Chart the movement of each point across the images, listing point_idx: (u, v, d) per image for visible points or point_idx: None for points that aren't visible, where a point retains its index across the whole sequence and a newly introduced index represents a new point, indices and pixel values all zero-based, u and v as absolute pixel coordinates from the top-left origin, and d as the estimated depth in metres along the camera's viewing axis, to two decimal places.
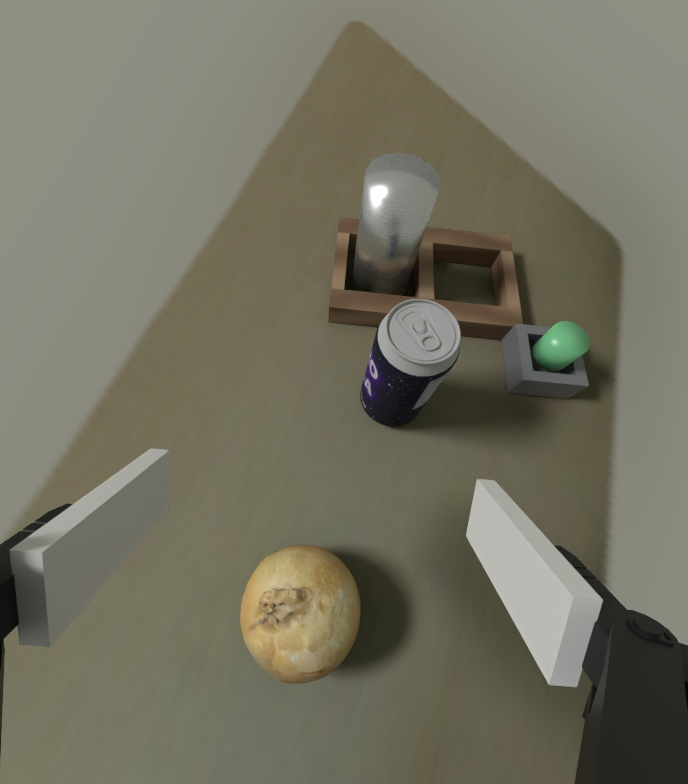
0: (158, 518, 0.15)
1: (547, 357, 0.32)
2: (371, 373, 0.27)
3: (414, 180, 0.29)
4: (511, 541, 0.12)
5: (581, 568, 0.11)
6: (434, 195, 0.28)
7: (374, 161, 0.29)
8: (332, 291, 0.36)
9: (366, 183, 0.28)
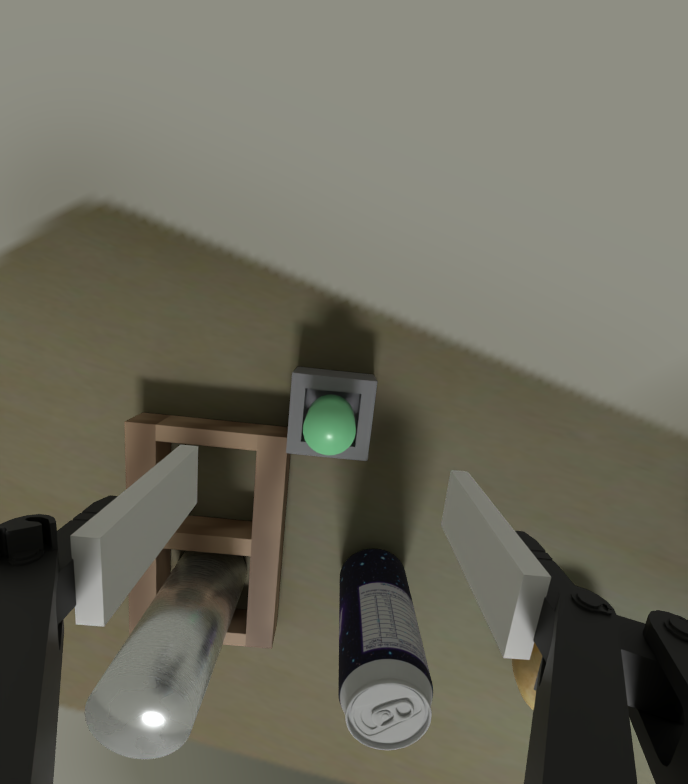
0: (188, 511, 0.15)
1: None
2: None
3: (139, 705, 0.20)
4: (476, 527, 0.13)
5: (540, 551, 0.12)
6: (166, 684, 0.20)
7: (111, 747, 0.21)
8: (249, 645, 0.31)
9: None
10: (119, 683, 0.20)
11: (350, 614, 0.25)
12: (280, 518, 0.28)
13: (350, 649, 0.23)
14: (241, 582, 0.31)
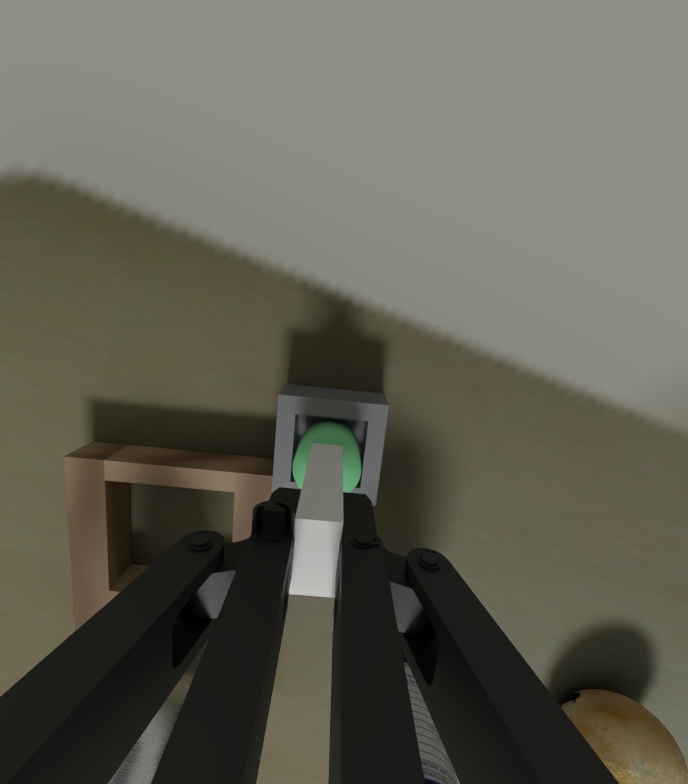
0: None
1: None
2: None
3: None
4: None
5: (368, 508, 0.13)
6: None
7: None
8: None
9: None
10: None
11: None
12: None
13: None
14: None
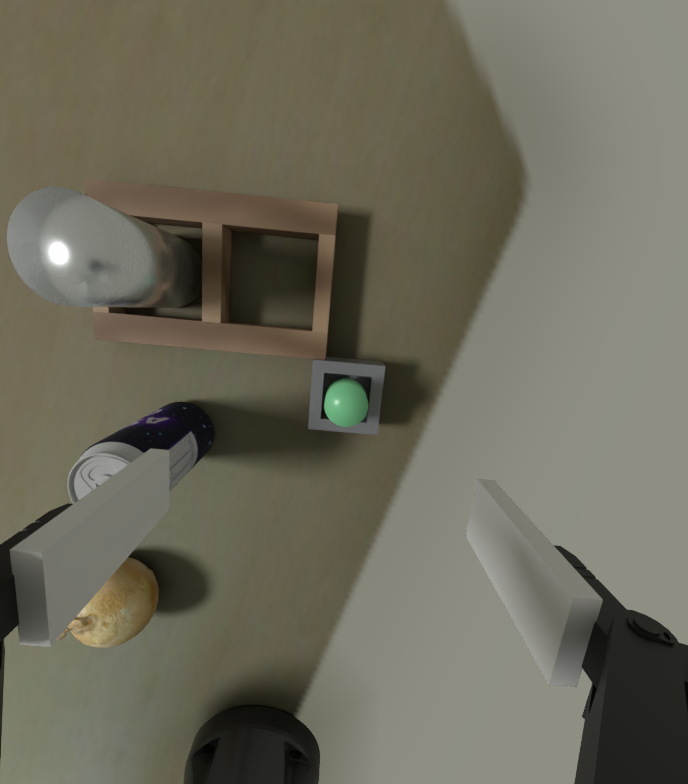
0: (158, 518, 0.15)
1: None
2: None
3: (82, 252, 0.19)
4: (511, 541, 0.12)
5: (581, 568, 0.11)
6: (113, 282, 0.20)
7: (17, 212, 0.19)
8: (95, 316, 0.29)
9: (14, 262, 0.20)
10: (108, 232, 0.19)
11: (172, 431, 0.27)
12: (245, 351, 0.30)
13: (153, 443, 0.24)
14: (166, 307, 0.30)
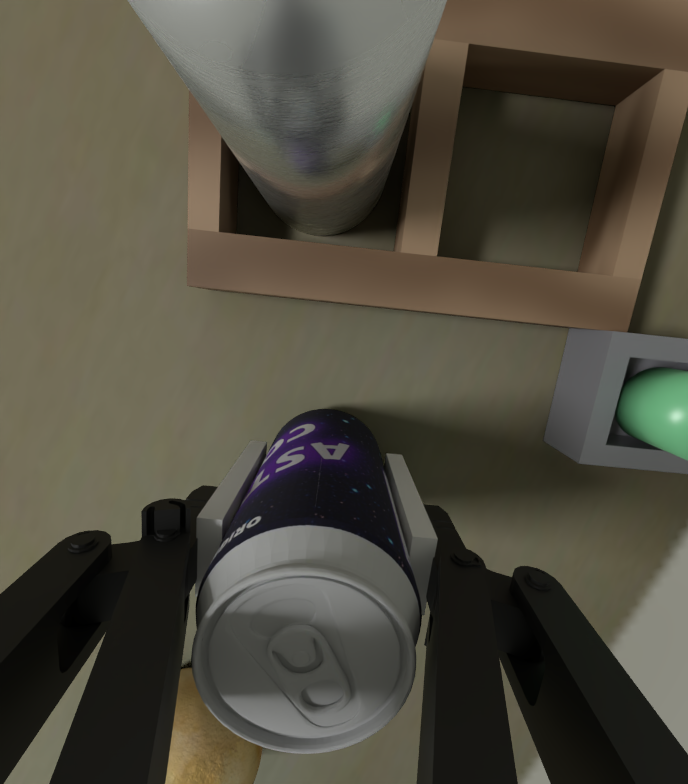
0: None
1: (643, 435, 0.15)
2: None
3: None
4: (395, 501, 0.14)
5: (447, 522, 0.13)
6: None
7: None
8: (191, 238, 0.15)
9: None
10: None
11: (374, 476, 0.12)
12: (477, 314, 0.16)
13: (380, 516, 0.10)
14: (324, 227, 0.16)
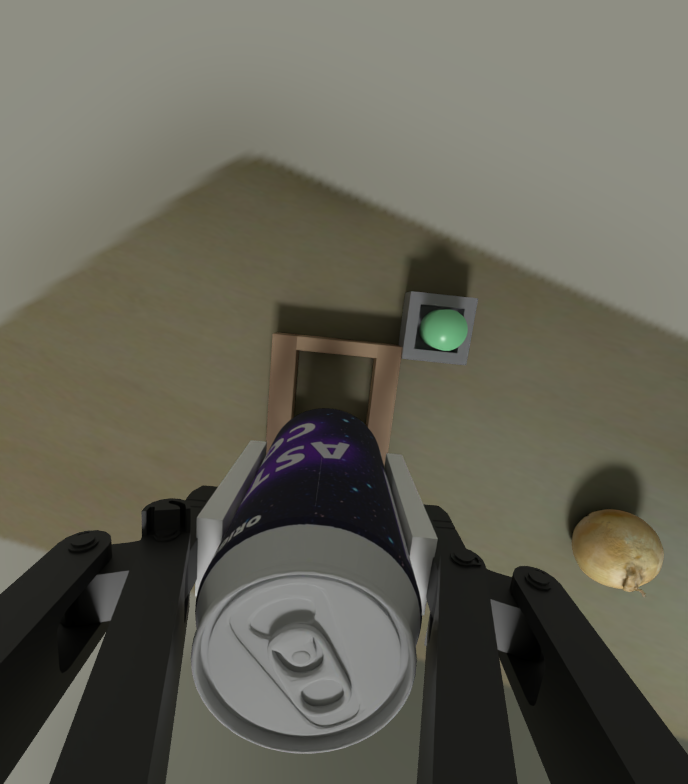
0: None
1: None
2: None
3: None
4: (394, 501, 0.14)
5: (447, 522, 0.13)
6: None
7: None
8: None
9: None
10: None
11: (374, 475, 0.12)
12: (391, 416, 0.35)
13: (380, 515, 0.10)
14: None
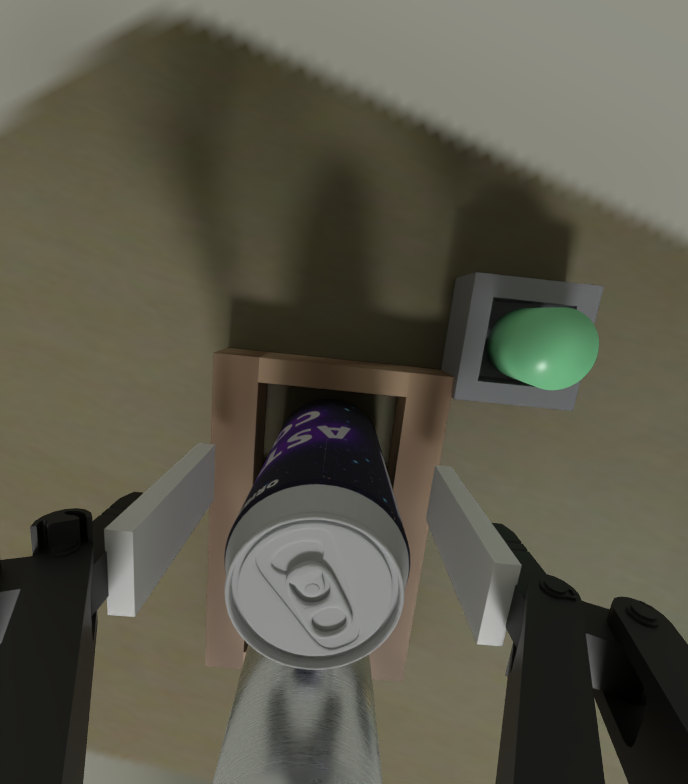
0: (206, 507, 0.16)
1: None
2: None
3: None
4: (456, 519, 0.13)
5: (516, 542, 0.12)
6: (351, 783, 0.11)
7: None
8: (372, 677, 0.22)
9: None
10: (269, 782, 0.11)
11: (372, 453, 0.14)
12: None
13: (376, 482, 0.12)
14: None
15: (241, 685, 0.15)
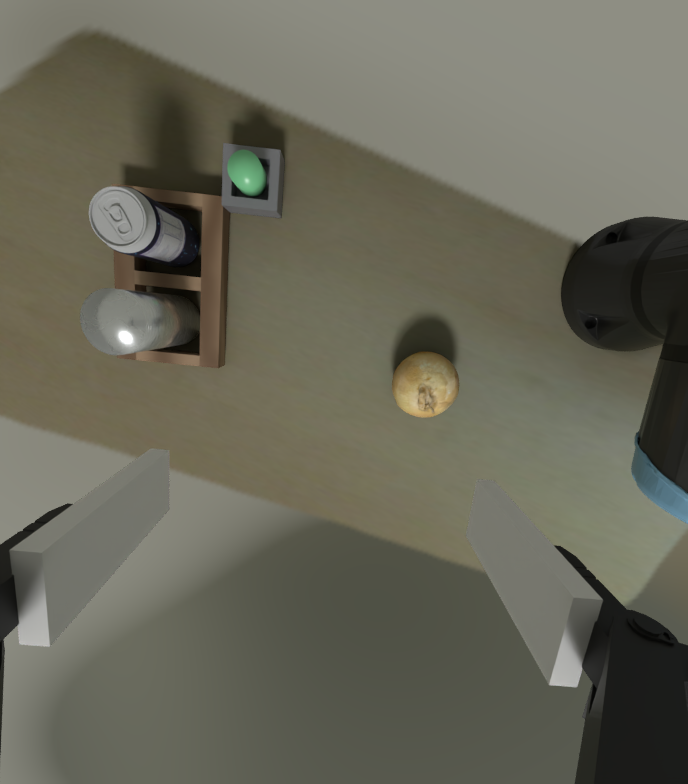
0: (158, 518, 0.15)
1: (259, 188, 0.38)
2: None
3: (114, 312, 0.33)
4: (511, 541, 0.12)
5: (581, 568, 0.11)
6: (131, 298, 0.33)
7: (93, 343, 0.33)
8: (202, 365, 0.44)
9: (120, 354, 0.34)
10: (103, 293, 0.32)
11: (165, 208, 0.36)
12: (220, 260, 0.41)
13: (151, 199, 0.33)
14: (194, 321, 0.43)
15: None
